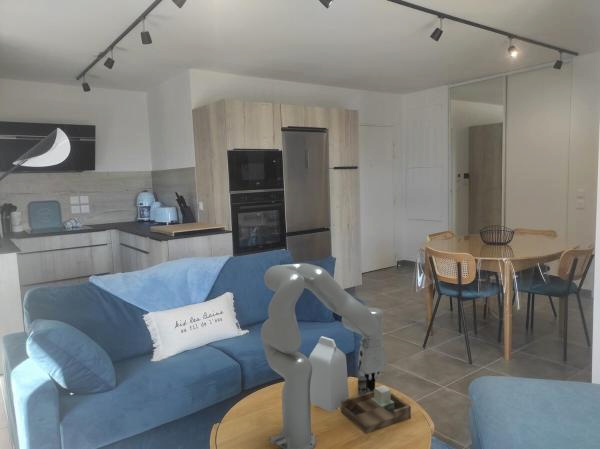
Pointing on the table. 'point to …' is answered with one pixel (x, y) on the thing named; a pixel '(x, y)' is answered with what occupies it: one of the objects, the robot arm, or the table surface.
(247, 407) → the table surface
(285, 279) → the robot arm
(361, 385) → the coffee box
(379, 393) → the block
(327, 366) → the milk
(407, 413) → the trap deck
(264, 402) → the table surface
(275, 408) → the table surface
